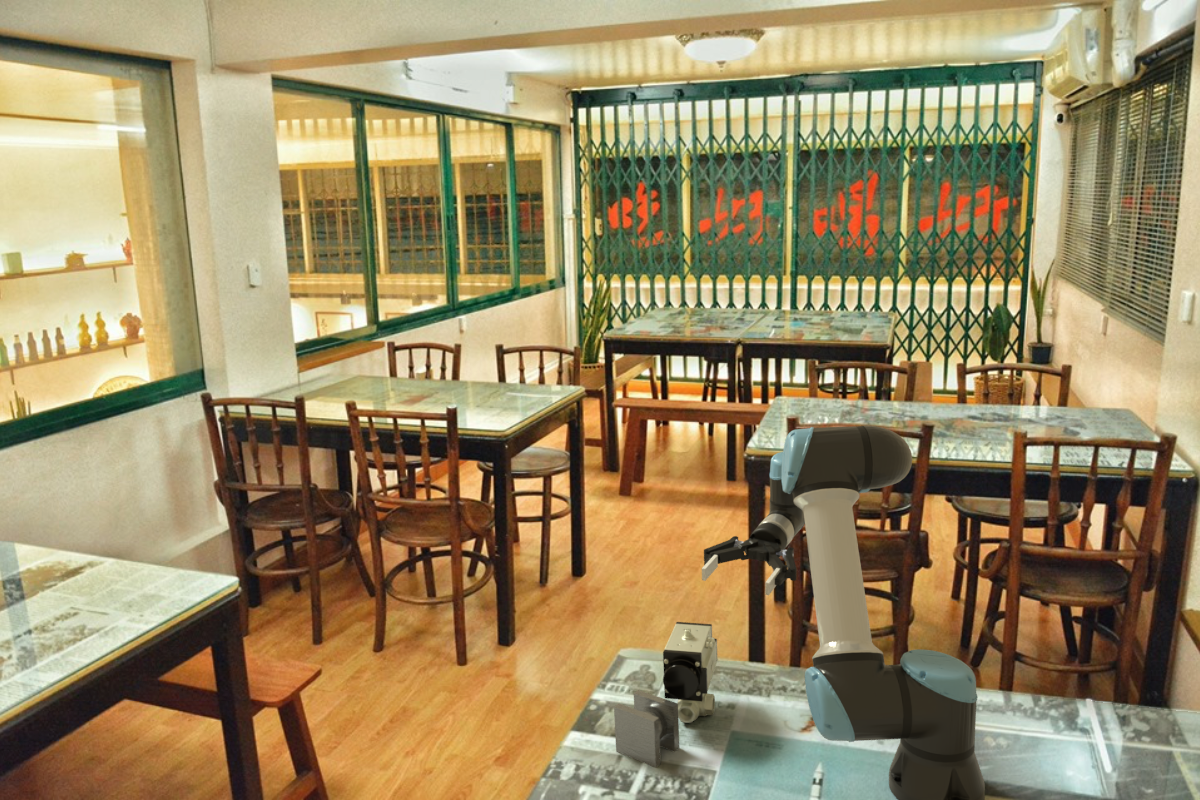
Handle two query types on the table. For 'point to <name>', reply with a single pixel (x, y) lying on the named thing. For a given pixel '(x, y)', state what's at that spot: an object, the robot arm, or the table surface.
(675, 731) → the flanged fitting
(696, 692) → the ball valve
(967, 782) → the robot arm
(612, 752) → the table surface
